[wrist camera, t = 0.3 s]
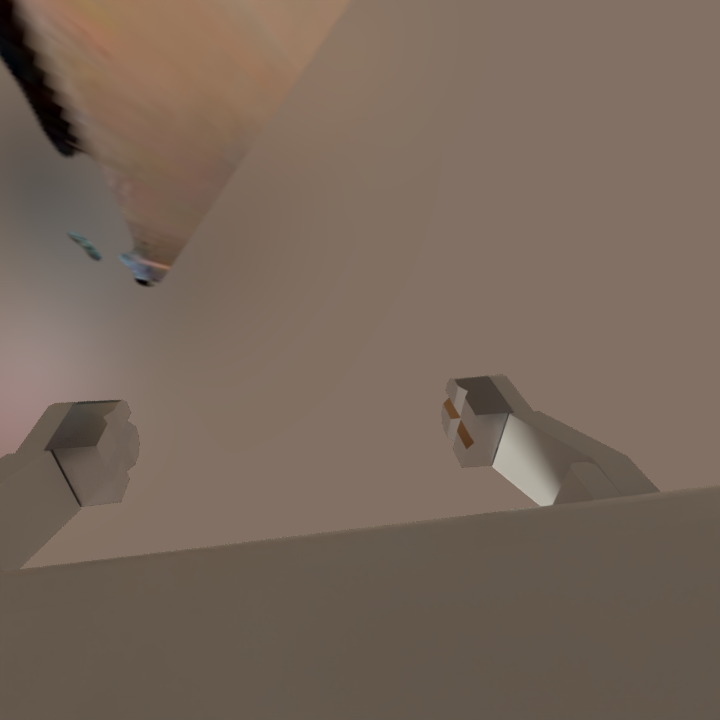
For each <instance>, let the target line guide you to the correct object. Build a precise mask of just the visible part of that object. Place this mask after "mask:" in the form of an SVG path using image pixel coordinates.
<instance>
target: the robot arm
mask: <svg viewBox="0 0 720 720" xmlns="http://www.w3.org/2000/svg"><path fill="white" fill-rule="evenodd" d="M446 392H447V394H448V396H449V398H448V399H447V400H446V401H445V402H444V403H443V408H442V424H443V427H444V431H445V433H446V435H447V437H448V438H450V439H451V440H453V441H454V446H453V450H454V452H455V454H456V456H457V459H458V461H459V463H460V465H461V467H462V468H464V467H478V466H491V465H493V466H492V467H493V468H494V469H496V470H497V471H498V472H499V473H500V474H502V475H503V476H504V477H505V478H507V479H508V480H509V481H510V482H511V483H513V484H514V485H515V486H516V487H518V488H519V489H520V490H521V491H523V492H524V493H525V494H526V495H528V496H529V497H530V498H531V499H532V500H534V501H535V502H536V503H537V504H539V505H540V507H532V508H524V509H515V510H507V511H499V512H492V513H483V514H474V515H467V516H458V517H449V518H441V519H433V520H424V521H416V522H408V523H400V524H392V525H383V526H375V527H366V528H357V529H349V530H341V531H333V532H325V533H316V534H308V535H300V536H291V537H283V538H275V539H266V540H259V541H251V542H242V543H233V544H225V545H217V546H210V547H200V548H192V549H184V550H176V551H167V552H159V553H151V554H142V555H135V556H126V557H117V558H109V559H101V560H93V561H84V562H77V563H68V564H60V565H51V566H43V567H35V568H27V569H20V568H21V567H22V566H23V565H24V564H25V563H26V562H27V561H28V560H29V559H30V558H31V557H32V556H33V555H34V554H35V553H36V552H37V551H38V550H39V549H40V548H41V547H43V546H44V545H45V544H46V543H47V542H48V541H49V540H50V539H51V538H52V537H53V536H54V535H55V534H56V533H57V532H58V531H59V530H60V529H61V528H62V527H63V526H64V525H65V524H66V523H67V522H68V521H69V520H70V519H71V518H72V517H73V516H74V515H76V514H77V513H78V511H80V510H81V508H80V507H86V506H94V505H102V504H110V503H118V502H121V501H122V498H123V496H124V493H125V490H126V488H127V485H128V483H129V480H130V478H129V476H128V473H127V471H128V470H129V469H130V468H131V467H133V466H134V465H135V464H136V461H137V458H138V455H139V445H140V442H139V435H138V432H137V428H136V426H134V425H133V424H132V423H130V422H128V418H129V416H130V414H131V411H130V409H129V406H128V404H127V402H125V401H124V400H107V401H106V400H105V401H84V402H68V403H54V404H52V405H50V406H49V407H48V408H47V409H46V411H45V412H44V413H43V415H42V416H41V418H40V419H39V420H38V422H37V423H36V425H35V426H34V427H33V429H32V430H31V432H30V433H29V434H28V436H27V437H26V439H25V440H24V441H23V443H22V444H21V446H20V447H19V448H18V450H17V451H16V453H13V454H7V455H5V456H3V457H1V458H0V720H720V485H714V486H706V487H698V488H691V489H681V490H673V491H665V492H660V491H659V490H658V489H657V487H656V486H655V485H654V484H653V483H652V482H651V481H650V480H649V479H648V478H647V477H646V476H645V474H643V472H642V471H641V470H640V469H639V468H638V467H637V466H636V465H635V464H634V463H633V462H632V460H631V459H630V458H629V457H628V456H626V455H624V454H622V453H620V452H618V451H616V450H614V449H612V448H610V447H609V446H607V445H605V444H602V443H601V442H599V441H597V440H595V439H593V438H591V437H589V436H587V435H585V434H583V433H581V432H579V431H577V430H575V429H573V428H571V427H570V426H567V425H566V424H564V423H562V422H560V421H558V420H556V419H554V418H552V417H550V416H548V415H546V414H544V413H542V412H540V411H533V410H532V408H531V407H530V406H529V405H528V403H527V402H526V401H525V399H524V398H523V397H522V396H521V394H520V393H519V392H518V391H517V389H516V388H515V387H514V385H513V384H512V383H511V382H510V380H509V379H508V378H507V376H505V375H503V374H496V375H486V376H480V377H466V378H451V379H450V380H449V381H448V383H447V387H446Z"/></svg>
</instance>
